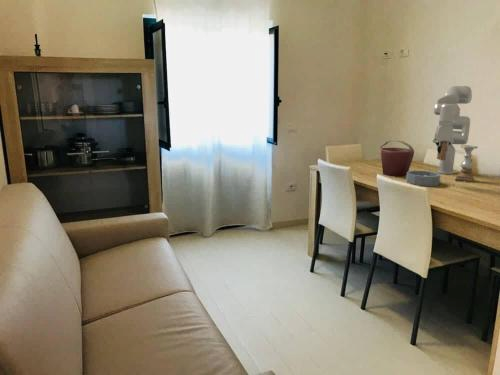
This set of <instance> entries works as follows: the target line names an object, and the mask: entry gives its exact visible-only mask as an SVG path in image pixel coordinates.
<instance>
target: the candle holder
mask: <svg viewBox="0 0 500 375" xmlns="http://www.w3.org/2000/svg"><path fill="white" fill-rule="evenodd" d="M460 148H462V149H463V150H464V151H465V152H464V154H463V156H464V159H463V161H462V162H461V163H460V167H461V169H460V173H458V174H456V176H455V180H454V181H455V182H460V181H465V182H464V183H470V182H473V183H474V180H475V177H474V175H472V174H471V169H473V162H472V160H471V158H472V157H473V154H472V152H473V151H474V150H475V149H478V146H477V145H468V144H464V145H460Z"/></svg>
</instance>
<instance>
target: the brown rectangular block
mask: <svg viewBox="0 0 500 375" xmlns="http://www.w3.org/2000/svg"><path fill="white" fill-rule="evenodd" d="M447 143H448V142H447V141H442V142H441V152H440V153H439V152H438V151H437V156H436V159H437V160H439V161H440V160H445V159H446V151H447Z"/></svg>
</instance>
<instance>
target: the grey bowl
mask: <svg viewBox="0 0 500 375" xmlns="http://www.w3.org/2000/svg"><path fill="white" fill-rule="evenodd" d="M405 177H406V178H405V181H406V183H407V184H409V183H410V185H412V184H413V185H412V186H417V185H418V186H420V187H438V186H439V185H440V181H441V173H437V172H434V171H430V170H429V171H428V170H416V169H415V170H409V171H408V172H407V174H406V176H405Z"/></svg>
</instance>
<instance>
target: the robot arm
mask: <svg viewBox="0 0 500 375" xmlns="http://www.w3.org/2000/svg"><path fill="white" fill-rule="evenodd" d="M472 95H473V94H472V88H471V87H470V86H467V85H455V86H450V87H449V88H448V89H447V92H445V94H444V96H442V97H440V98H439V99H437V100H436V102H435V104H434V107H433V113H434V115H436V116H439V119H438V120H439V121H438V125H436V128H435V132H434V137H433V138H434V139H433V140H432V143H433V144H435V145H436V146H437V148H436V149H437V153H438V152H439V153H440V152H441V142H442V141H447V142H448V143H447V151H446V159H445V160H439V166H438V169H436V172H435V173H438V174H440V175H442V174H443V175H455V173H456V172H455V171H454V163H455V158H456V148H455V147H454V145H460V146H461V145H467V143H468V141H469V135H470V127H471V118H470V117H469V116H466V115H465V116H464V115H461V114H460V113H461V108H460V106H459V105H460V104H462V105H465V104H466V105H467V104H470V103H471V101H472V98H473V96H472ZM458 104H459V105H458ZM459 130H461V131H459Z"/></svg>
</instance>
